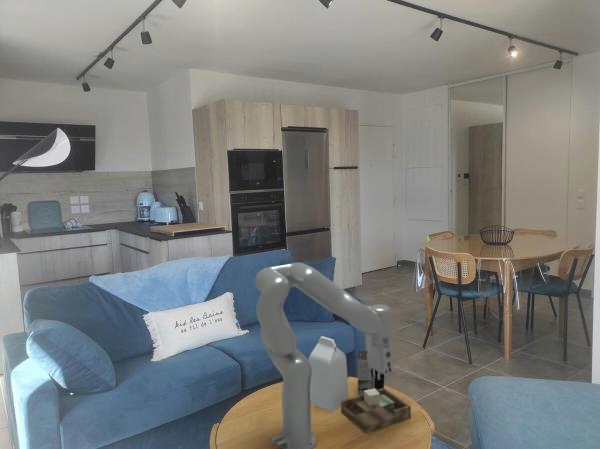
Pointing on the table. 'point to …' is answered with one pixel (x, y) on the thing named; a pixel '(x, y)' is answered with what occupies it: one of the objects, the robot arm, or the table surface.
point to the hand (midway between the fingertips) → (379, 388)
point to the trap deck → (376, 411)
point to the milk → (328, 375)
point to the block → (371, 397)
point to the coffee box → (364, 373)
